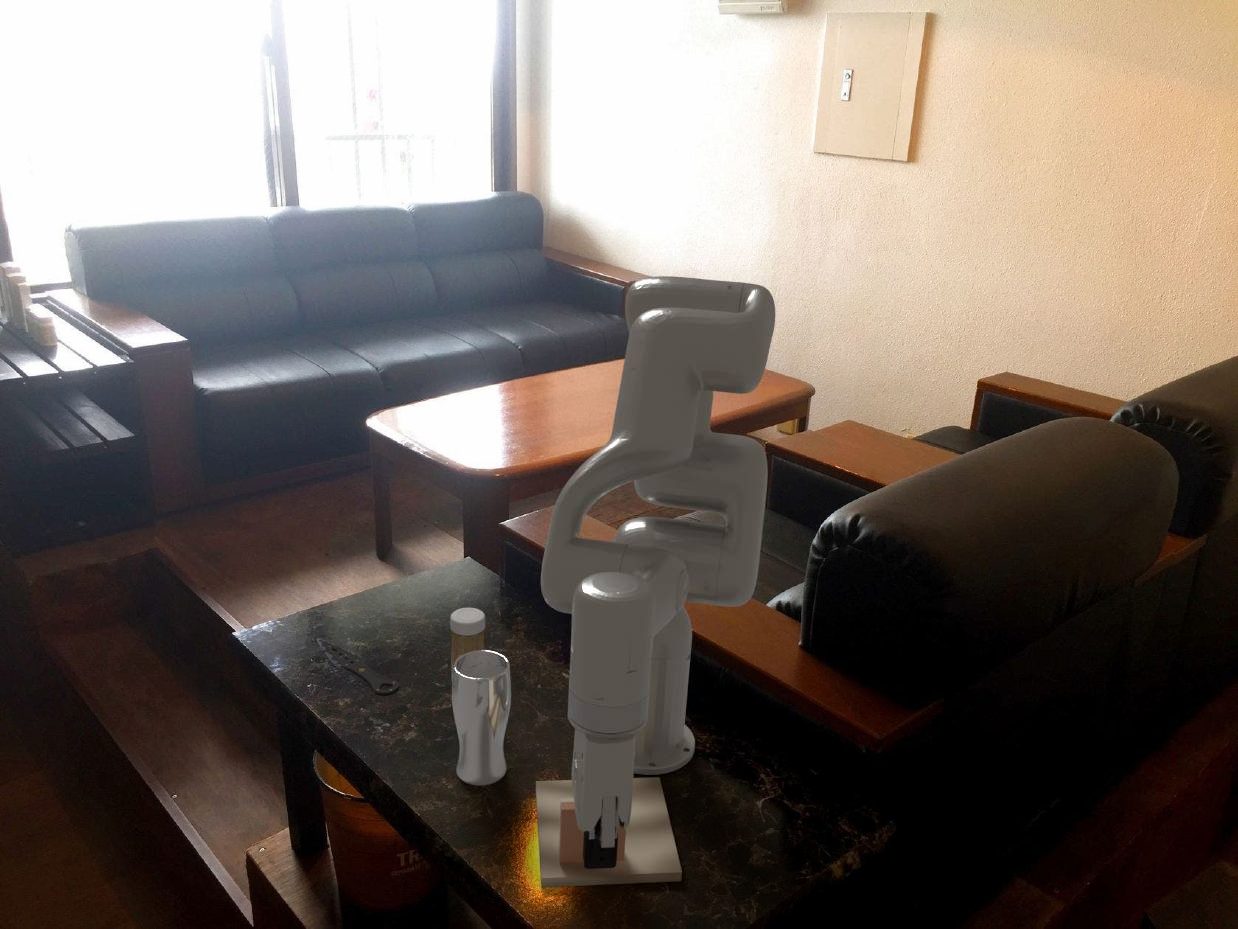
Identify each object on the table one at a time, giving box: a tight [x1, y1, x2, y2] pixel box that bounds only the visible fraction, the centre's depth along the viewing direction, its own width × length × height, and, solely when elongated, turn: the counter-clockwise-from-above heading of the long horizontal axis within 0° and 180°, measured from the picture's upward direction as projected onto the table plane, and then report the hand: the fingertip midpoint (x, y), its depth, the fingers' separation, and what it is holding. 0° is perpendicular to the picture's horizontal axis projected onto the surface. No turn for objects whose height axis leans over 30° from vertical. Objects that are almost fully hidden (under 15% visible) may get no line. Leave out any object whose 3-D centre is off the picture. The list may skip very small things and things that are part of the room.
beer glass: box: [451, 649, 512, 787], centre depth 123 cm, size 7×7×15 cm
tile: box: [558, 798, 626, 863], centre depth 110 cm, size 2×7×7 cm, turn 96°
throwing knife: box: [314, 637, 400, 696], centre depth 147 cm, size 4×20×1 cm, turn 46°
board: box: [535, 776, 683, 888], centre depth 116 cm, size 16×15×1 cm
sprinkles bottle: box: [449, 607, 486, 703], centre depth 137 cm, size 5×5×13 cm
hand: (599, 862), depth 101 cm, fingers closed
